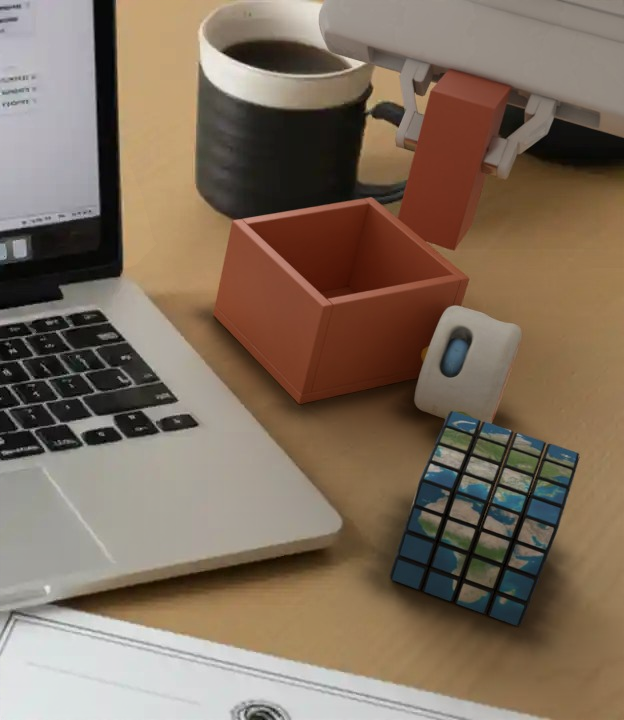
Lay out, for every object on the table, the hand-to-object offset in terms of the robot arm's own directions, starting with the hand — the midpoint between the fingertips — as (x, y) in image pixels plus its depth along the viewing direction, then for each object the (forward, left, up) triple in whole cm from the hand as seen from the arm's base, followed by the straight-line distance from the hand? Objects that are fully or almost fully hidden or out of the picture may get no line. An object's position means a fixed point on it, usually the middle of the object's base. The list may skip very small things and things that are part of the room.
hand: (450, 160), depth 93 cm
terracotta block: (-1, 0, -5) cm, 5 cm away
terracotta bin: (+10, +4, -8) cm, 13 cm away
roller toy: (+7, +12, -8) cm, 16 cm away
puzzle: (+14, +22, -8) cm, 27 cm away
